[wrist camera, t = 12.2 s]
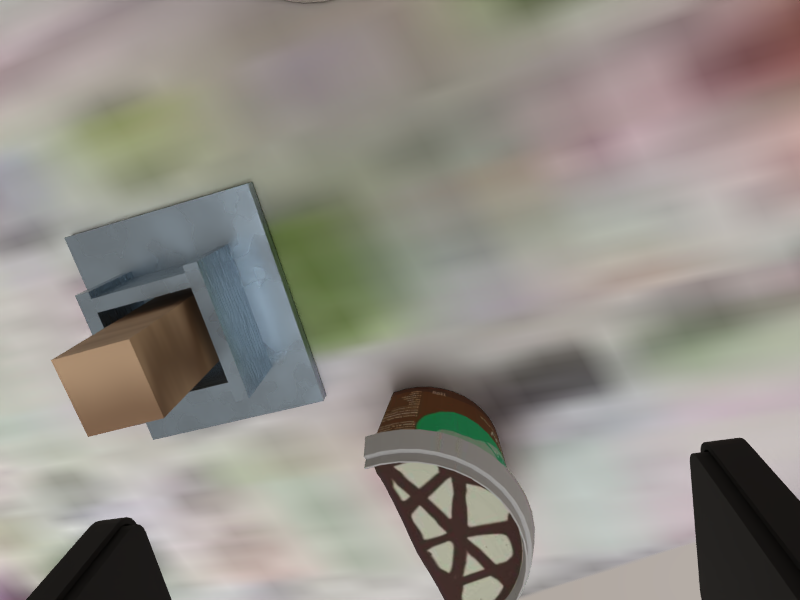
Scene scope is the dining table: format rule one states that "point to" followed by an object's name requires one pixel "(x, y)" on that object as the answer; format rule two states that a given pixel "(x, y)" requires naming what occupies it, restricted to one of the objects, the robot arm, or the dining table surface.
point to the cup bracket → (207, 302)
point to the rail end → (138, 364)
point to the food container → (454, 493)
